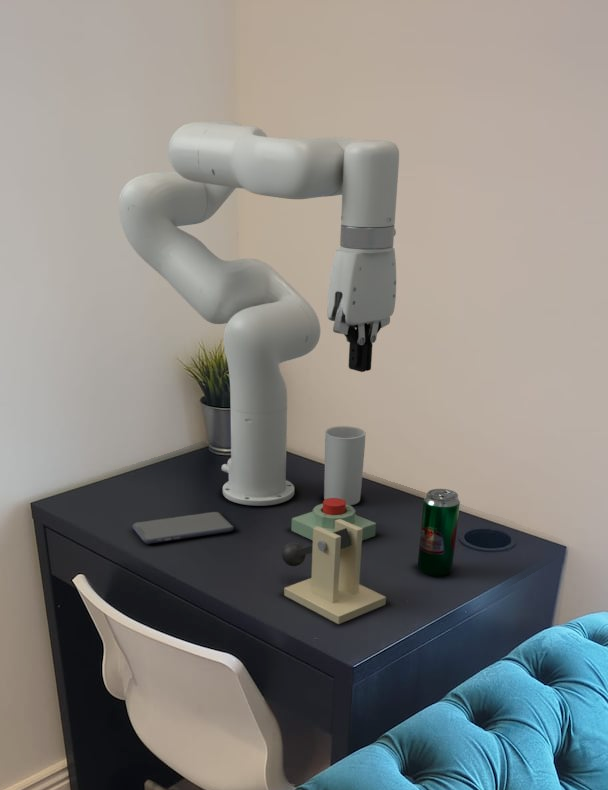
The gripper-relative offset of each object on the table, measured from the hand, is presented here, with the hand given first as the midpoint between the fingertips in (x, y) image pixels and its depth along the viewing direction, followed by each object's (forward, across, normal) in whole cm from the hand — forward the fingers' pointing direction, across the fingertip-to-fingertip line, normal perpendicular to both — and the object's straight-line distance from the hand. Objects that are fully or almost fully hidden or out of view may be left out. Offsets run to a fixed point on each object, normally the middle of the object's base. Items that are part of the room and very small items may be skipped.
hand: (359, 369), depth 146 cm
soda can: (+25, +3, +20) cm, 33 cm away
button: (+22, +5, +1) cm, 22 cm away
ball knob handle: (+20, +21, +14) cm, 33 cm away
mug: (+25, -7, -10) cm, 28 cm away
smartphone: (+25, +23, -15) cm, 37 cm away
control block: (+25, +5, +1) cm, 26 cm away
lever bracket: (+25, +21, +18) cm, 37 cm away
